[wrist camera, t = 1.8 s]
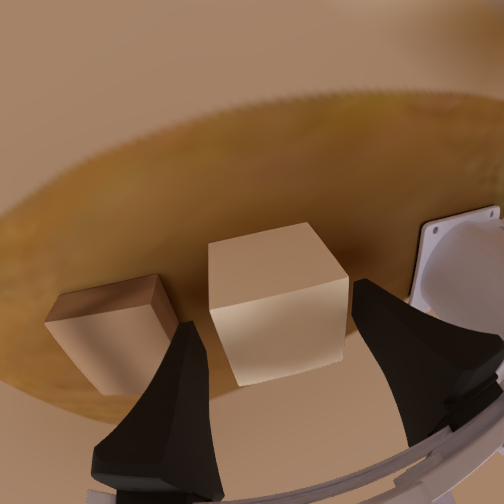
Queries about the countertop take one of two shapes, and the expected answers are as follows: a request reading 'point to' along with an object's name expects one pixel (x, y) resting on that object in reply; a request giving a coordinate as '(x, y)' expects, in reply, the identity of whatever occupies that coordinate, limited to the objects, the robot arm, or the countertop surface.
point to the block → (277, 302)
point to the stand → (116, 332)
